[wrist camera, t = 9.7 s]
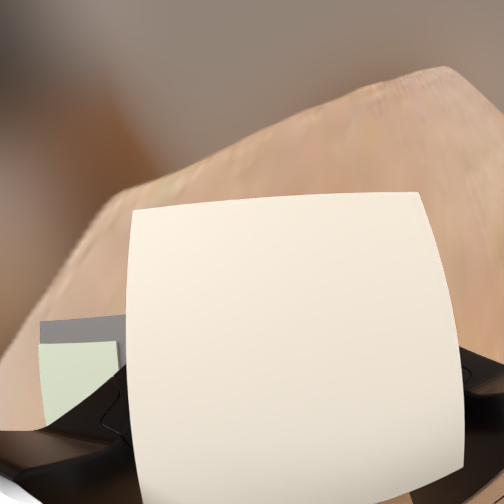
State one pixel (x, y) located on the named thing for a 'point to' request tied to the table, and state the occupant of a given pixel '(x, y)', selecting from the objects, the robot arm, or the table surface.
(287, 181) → the table surface
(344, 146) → the table surface
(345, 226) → the cream block
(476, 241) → the table surface
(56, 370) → the board
